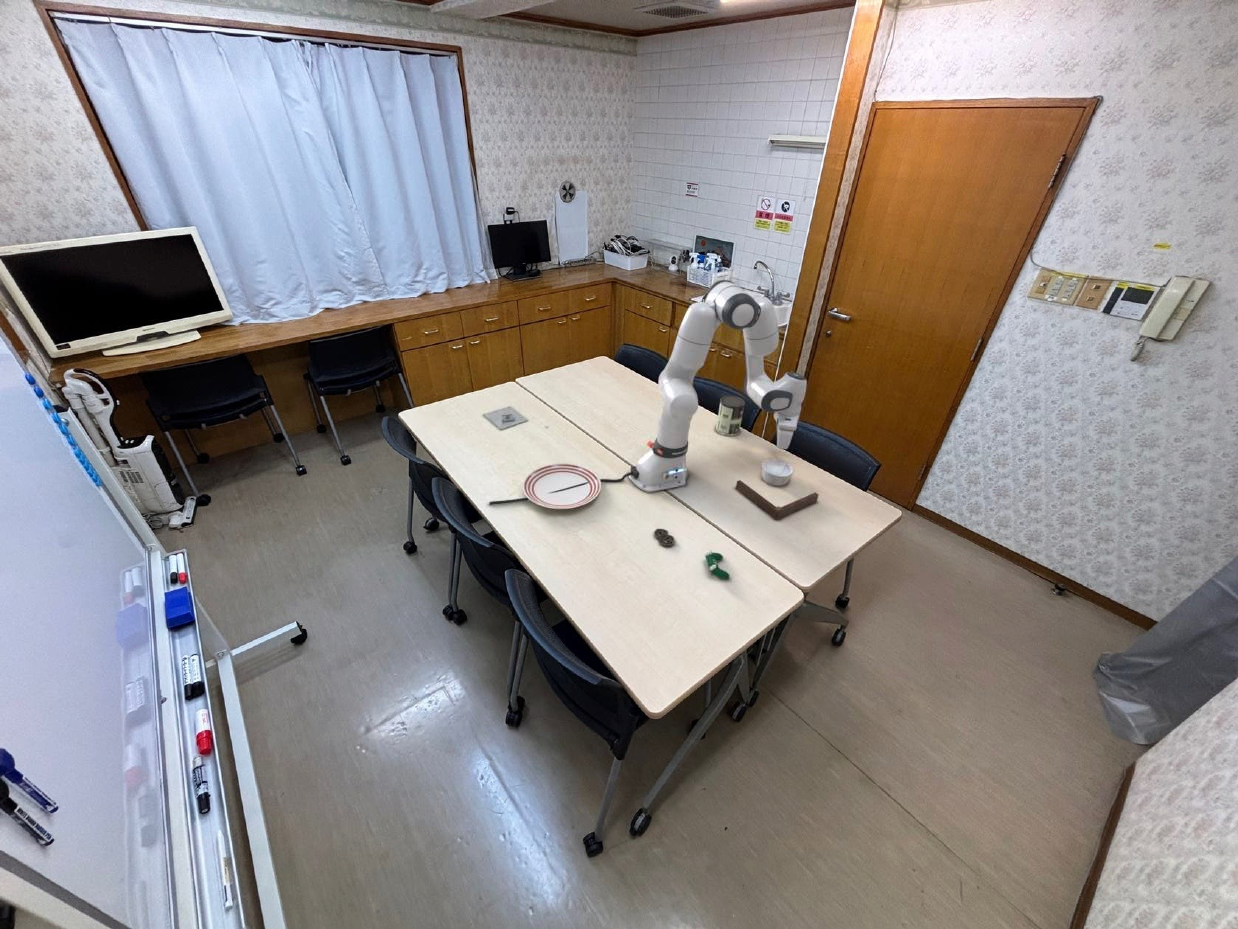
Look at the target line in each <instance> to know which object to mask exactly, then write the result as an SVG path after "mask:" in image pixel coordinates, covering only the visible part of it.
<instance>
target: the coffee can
mask: <svg viewBox="0 0 1238 929" xmlns="http://www.w3.org/2000/svg"><path fill="white" fill-rule="evenodd" d="M745 405H746V401H745V400H744V399H743V398H742V397H740V396H735V395H724V396H722V397H720V400H719V408H718V414H717V420H716V427H715V430H716V432H717V433H718V434H720V435H723V436H727V437H729V436H730V437H731V436H732V437H733V436H737V435H738V434H739V433H740V430H741V424H742V420H743V414H744V409H745Z"/></svg>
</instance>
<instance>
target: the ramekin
mask: <svg viewBox="0 0 1238 929" xmlns="http://www.w3.org/2000/svg"><path fill="white" fill-rule="evenodd" d="M793 474H794V469H793V467H792V466H791V464H790V463H788V462H786V461H784V460H781V459H776V458H775V459H774V458H771V459H766V460H764V461H763V462H762V464H761V477H762V479H763V481H765V482H766V483H767V484H769V485H772V486H776V487H777V486H784V485H786V484H787V483H788V482H789V480H790V478H791V477H792V476H793Z"/></svg>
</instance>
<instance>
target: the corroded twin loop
mask: <svg viewBox="0 0 1238 929" xmlns="http://www.w3.org/2000/svg"><path fill="white" fill-rule="evenodd" d="M653 533H654V534H653V535H654V537H655V538H656V539H659V543H660V544H661V545H663V546H669V547H670V546H673V544H675V543H674V542H675V538H674V536H673V535H671V534H669V531H668V530H667V529H665V528H656V529H655V530H654V532H653Z"/></svg>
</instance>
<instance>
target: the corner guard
mask: <svg viewBox="0 0 1238 929" xmlns="http://www.w3.org/2000/svg"><path fill="white" fill-rule="evenodd" d="M735 490H736V491H737V492H739V493H740V495H743V496H744V497H745V498H747V500H749V501H751V503H752V504H754V505H756V506H757V507H758V508H760V509H761V510H762V511H763V512H765V514H767V515H768V516H770V517H771V518H773V519H774V520H775V521H778V520H780V519H782V518H784V517H786V516H789V515H791V514H793V513H796V512H797V511H800V510H803V509H804V508H806V507H809V506H811V505H814V504H815V503H817V502H818V498H819V495H820V494H818V493H817V492H812V493H810V494H808V495H806V496H804V497H802V498H799V499H796V500H794V501H791V502H789V503H788V504H785V505H783V506H779V505H778V506H776V505H774V504H773V503H772V502H771V501H769V500H767V499H766V498H765V497H763V496H762V495H761V494H759V493H758V492H757V491H755V490H754V489H753V488H752V487H750V486H749V485H747V484H746V483H745V482H744V481H742V480H741V479H739V480H737V481H736V484H735Z"/></svg>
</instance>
